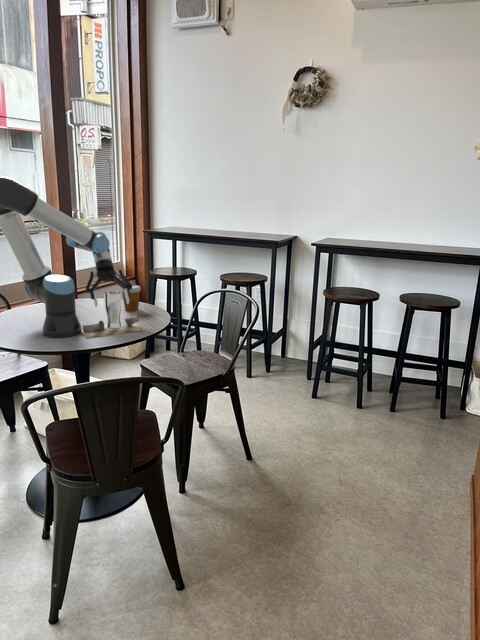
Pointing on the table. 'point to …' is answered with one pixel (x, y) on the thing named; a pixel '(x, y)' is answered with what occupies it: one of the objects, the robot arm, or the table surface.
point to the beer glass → (113, 308)
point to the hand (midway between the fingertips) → (112, 303)
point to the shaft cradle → (102, 330)
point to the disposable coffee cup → (132, 299)
